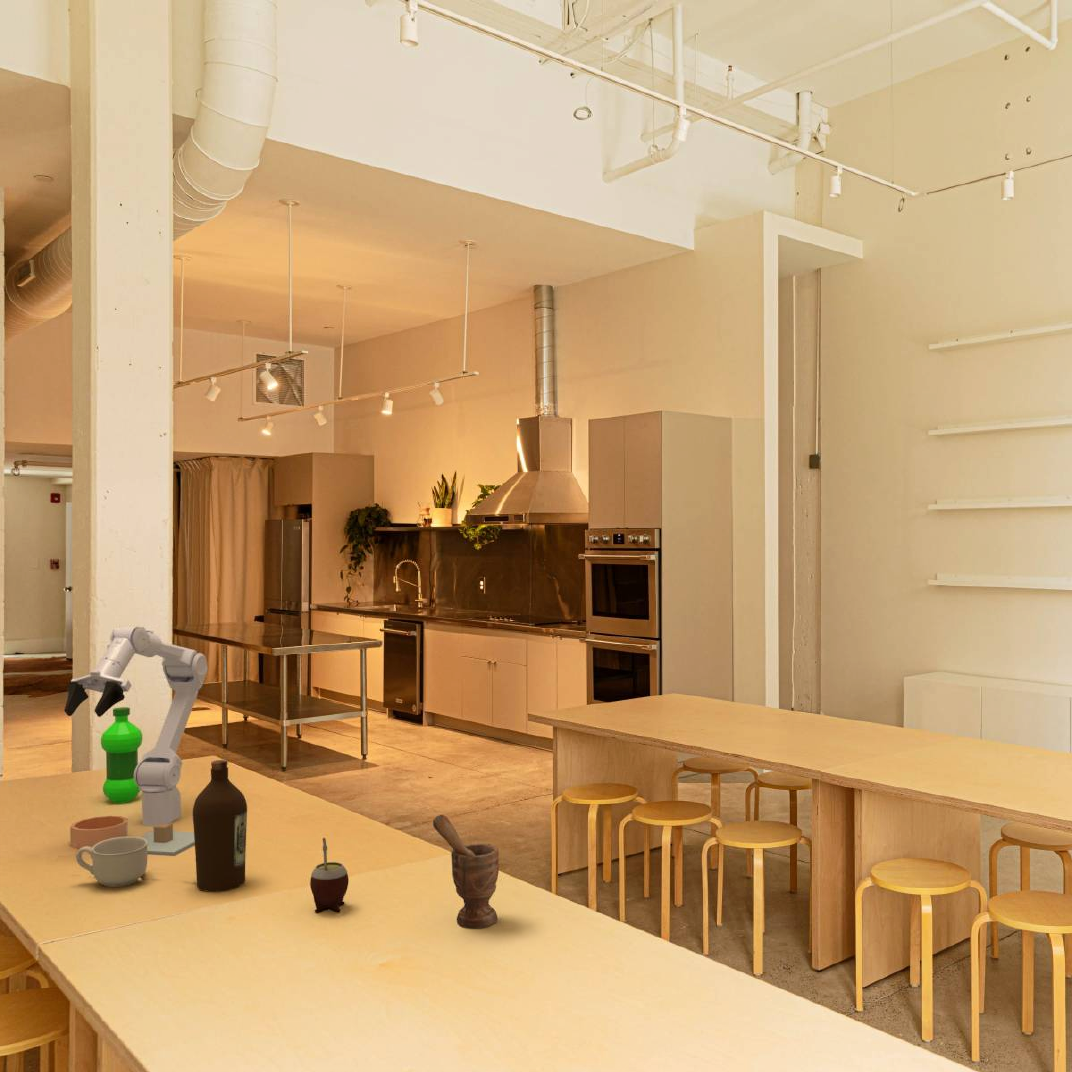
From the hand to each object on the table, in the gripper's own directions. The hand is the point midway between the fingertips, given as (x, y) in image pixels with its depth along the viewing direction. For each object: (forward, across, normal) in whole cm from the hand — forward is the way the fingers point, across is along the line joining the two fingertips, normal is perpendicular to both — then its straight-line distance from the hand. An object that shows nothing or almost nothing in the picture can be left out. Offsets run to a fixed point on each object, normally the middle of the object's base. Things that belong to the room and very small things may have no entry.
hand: (82, 713), depth 228 cm
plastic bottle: (-15, -24, +56) cm, 63 cm away
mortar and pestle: (+37, +95, +11) cm, 102 cm away
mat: (+12, +12, +32) cm, 36 cm away
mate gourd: (+35, +67, +12) cm, 77 cm away
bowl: (+13, -4, +31) cm, 34 cm away
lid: (+12, +12, +31) cm, 36 cm away
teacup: (+31, +16, +16) cm, 38 cm away
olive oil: (+28, +39, +18) cm, 52 cm away
